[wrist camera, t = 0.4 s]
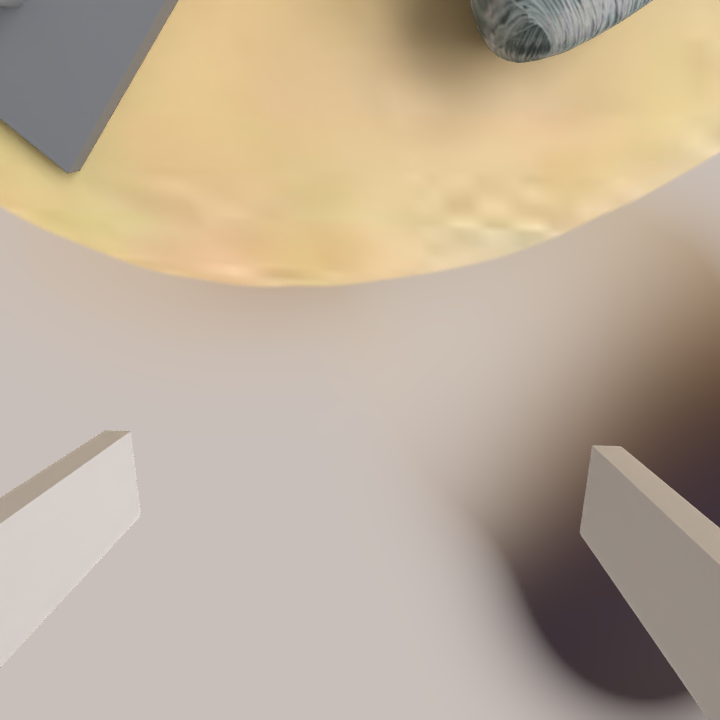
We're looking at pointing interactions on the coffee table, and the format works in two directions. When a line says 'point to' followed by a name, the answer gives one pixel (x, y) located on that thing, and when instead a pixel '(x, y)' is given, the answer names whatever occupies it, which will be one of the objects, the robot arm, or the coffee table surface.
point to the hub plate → (71, 68)
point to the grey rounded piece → (545, 24)
